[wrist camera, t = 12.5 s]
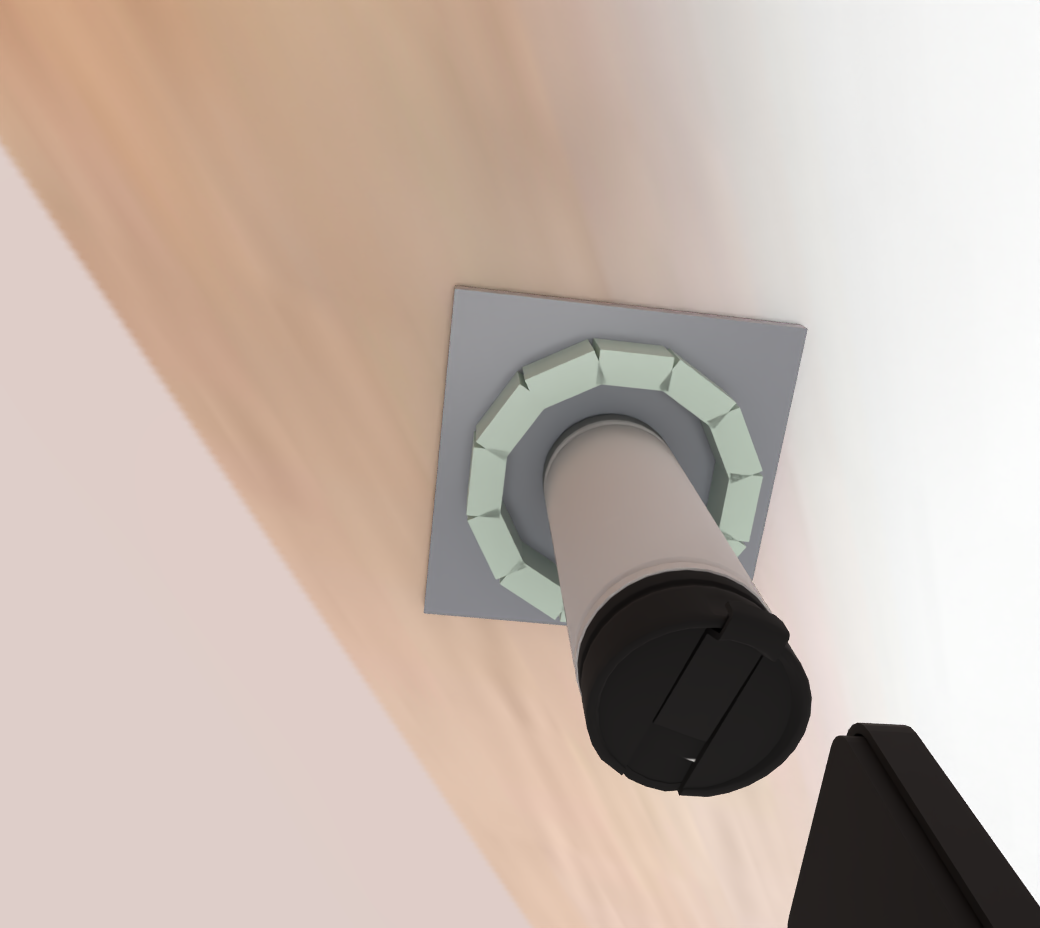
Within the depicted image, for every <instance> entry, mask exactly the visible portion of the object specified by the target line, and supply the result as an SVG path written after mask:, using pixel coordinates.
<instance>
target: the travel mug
mask: <svg viewBox="0 0 1040 928" xmlns="http://www.w3.org/2000/svg"><path fill="white" fill-rule="evenodd" d="M542 480H543V491H544V497H545V503H546V508H547V514H548V520H549V526H550V531H551V537H552V543H553V548H554V554H555V560H556V566H557V571H558V577H559V583H560V588H561V594H562V600H563V606H564V611H565V617H566V623H567V628H568V634H569V640H570V646H571V651H572V657H573V663H574V667H575V674H576V680H577V683H578V687H579V690H580V693H581V696H582V703H583V709H584V714H585V719H586V725H587V730H588V733H589V736H590V739H591V742H592V745H593V747H594V748H595V750H596V752H597V753H598V755H599V757H600V758H601V760H603V761H604V762H605V763H607V764H608V765H609V766H610V767H612V768H613V769H614V770H616V771H617V772H618V773H620V774H621V775H623V773H624V775H625V776H626V777H627V778H628V779H631V780H633V781H635V782H637V783H639V784H642V785H644V786H646V787H650V788H654V789H658V790H662V791H676V790H678V793H679V795H683V796H701V797H710V796H715V795H720V794H725V793H729V792H732V791H735V790H738V789H741V788H743V787H746V786H749V785H751V784H752V783H754V782H756V781H758V780H760V779H762V778H763V777H765V776H767V775H768V774H769V773H771V772H772V771H773V770H775V769H776V768H777V767H778V766H780V765H781V764H782V763H783V762H784V761H785V760H786V759H787V758H788V757H789V755H790V754H791V753H792V752H793V751H794V750H795V749H796V747H797V745H798V743H799V742H800V740H801V738H802V737H803V735H804V733H805V731H806V727H807V724H808V721H809V718H810V714H811V701H812V697H811V691H810V685H809V680H808V678H807V676H806V674H805V671H804V669H803V667H802V665H801V663H800V661H799V660H798V658H797V657H796V655H795V653H794V652H793V650H792V649H791V647H790V645H789V644H788V640H789V637H790V634H789V631H788V630H787V628H786V626H785V625H784V623H783V622H782V621H781V620H780V619H779V618H778V617H777V616H775V615H774V614H772V613H771V611H770V609H769V607H768V606H767V604H766V603H765V602H764V600H763V598H762V596H761V595H760V593H759V591H758V590H757V588H756V587H755V585H754V583H753V582H752V580H751V579H750V577H749V575H748V574H747V572H746V571H745V569H744V567H743V566H742V564H741V563H740V561H739V559H738V558H737V556H736V554H735V553H734V551H733V550H732V548H731V546H730V545H729V543H728V542H727V540H726V538H725V537H724V535H723V534H722V532H721V530H720V529H719V527H718V526H717V524H716V522H715V521H714V519H713V518H712V516H711V514H710V513H709V511H708V510H707V508H706V506H705V505H704V503H703V501H702V500H701V498H700V497H699V495H698V493H697V492H696V490H695V489H694V487H693V485H692V484H691V482H690V481H689V479H688V477H687V476H686V474H685V473H684V471H683V469H682V468H681V466H680V465H679V463H678V461H677V460H676V458H675V456H674V455H673V454H672V452H671V450H670V448H669V447H668V445H667V444H666V442H665V441H664V440H663V438H662V437H661V436H660V435H659V433H658V432H656V431H655V430H654V429H653V428H652V427H650V426H649V425H648V424H646V423H644V422H642V421H640V420H638V419H635V418H632V417H629V416H626V415H617V414H606V415H598V416H594V417H591V418H587V419H585V420H583V421H581V422H578V423H576V424H574V425H573V426H572V427H570V428H569V429H568V430H566V431H565V432H564V433H563V434H562V435H561V436H560V437H559V438H558V439H557V440H556V442H555V443H554V445H553V446H552V448H551V450H550V451H549V453H548V455H547V458H546V461H545V464H544V469H543V477H542Z"/></svg>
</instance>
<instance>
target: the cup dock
mask: <svg viewBox="0 0 1040 928" xmlns="http://www.w3.org/2000/svg"><path fill="white" fill-rule="evenodd" d="M806 334H807V328H805V327H804V326H802V325H798V324H790V323H781V322H772V321H763V320H755V319H746V318H737V317H728V316H719V315H711V314H702V313H693V312H684V311H675V310H667V309H658V308H649V307H640V306H632V305H623V304H614V303H605V302H596V301H588V300H579V299H570V298H561V297H552V296H544V295H535V294H526V293H517V292H509V291H500V290H491V289H482V288H473V287H465V286H456V285H455V292H454V303H453V313H452V324H451V334H450V345H449V355H448V366H447V376H446V387H445V397H444V407H443V418H442V428H441V439H440V449H439V460H438V470H437V481H436V491H435V502H434V512H433V523H432V533H431V543H430V554H429V564H428V575H427V585H426V596H425V606H424V613H427V614H439V615H451V616H462V617H474V618H485V619H497V620H509V621H520V622H532V623H543V624H555V625H567V623H566V617H565V611H564V606H563V600H562V594H561V588H560V583H559V577H558V571H557V566H556V560H555V554H554V548H553V543H552V537H551V531H550V526H549V520H548V514H547V508H546V503H545V497H544V491H543V480H542V477H543V469H544V464H545V461H546V458H547V455H548V453H549V451H550V450H551V448H552V446H553V445H554V443H555V442H556V440H557V439H558V438H559V437H560V436H561V435H562V434H563V433H564V432H565V431H566V430H568V429H569V428H570V427H572V426H573V425H574V424H576V423H578V422H581V421H583V420H585V419H587V418H591V417H594V416H598V415H606V414H617V415H626V416H629V417H632V418H635V419H638V420H640V421H642V422H644V423H646V424H648V425H649V426H650V427H652V428H653V429H654V430H655V431H656V432H658V433H659V435H660V436H661V437H662V438H663V440H664V441H665V442H666V444H667V445H668V447H669V448H670V450H671V452H672V454H673V455H674V456H675V458H676V460H677V461H678V463H679V465H680V466H681V468H682V469H683V471H684V473H685V474H686V476H687V477H688V479H689V481H690V482H691V484H692V485H693V487H694V489H695V490H696V492H697V493H698V495H699V497H700V498H701V500H702V501H703V503H704V505H705V506H706V508H707V510H708V511H709V513H710V514H711V516H712V518H713V519H714V521H715V522H716V524H717V526H718V527H719V529H720V530H721V532H722V534H723V535H724V537H725V538H726V540H727V542H728V543H729V545H730V546H731V548H732V550H733V551H734V553H735V554H736V556H737V558H738V559H739V561H740V563H741V564H742V566H743V567H744V569H745V571H746V572H747V574H748V575H749V577H750V579H751V580H753V576H754V571H755V567H756V562H757V557H758V553H759V548H760V544H761V539H762V535H763V530H764V525H765V521H766V516H767V512H768V507H769V503H770V498H771V494H772V489H773V484H774V480H775V475H776V471H777V466H778V462H779V457H780V452H781V448H782V443H783V439H784V434H785V430H786V425H787V420H788V416H789V411H790V407H791V402H792V398H793V393H794V388H795V384H796V379H797V375H798V370H799V366H800V361H801V357H802V352H803V347H804V343H805V338H806Z"/></svg>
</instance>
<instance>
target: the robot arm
mask: <svg viewBox="0 0 1040 928" xmlns="http://www.w3.org/2000/svg"><path fill="white" fill-rule="evenodd" d="M788 928H1040V906H1039V905H1038V903H1037V902H1036V901H1035V899H1034V898H1033V896H1032V895H1031V894H1030V892H1029V891H1028V889H1027V888H1026V887H1025V885H1024V884H1023V882H1022V881H1021V880H1020V878H1019V877H1018V875H1017V874H1016V873H1015V871H1014V870H1013V868H1012V867H1011V866H1010V864H1009V863H1008V861H1007V860H1006V859H1005V857H1004V856H1003V854H1002V853H1001V851H1000V850H999V849H998V847H997V846H996V844H995V843H994V842H993V840H992V839H991V837H990V836H989V835H988V833H987V832H986V830H985V829H984V828H983V826H982V825H981V823H980V822H979V821H978V819H977V818H976V816H975V815H974V814H973V812H972V811H971V809H970V808H969V807H968V805H967V804H966V802H965V801H964V800H963V798H962V797H961V795H960V794H959V792H958V791H957V790H956V788H955V787H954V785H953V784H952V783H951V781H950V780H949V778H948V777H947V776H946V774H945V773H944V771H943V770H942V769H941V767H940V766H939V764H938V763H937V762H936V760H935V759H934V757H933V756H932V755H931V753H930V752H929V750H928V749H927V748H926V746H925V745H924V743H923V742H922V740H921V739H920V738H919V736H918V735H917V733H916V732H915V731H914V730H913V729H912V728H911V727H909V726H906V725H894V724H873V723H856V724H853V725H852V726H851V728H850V729H849V730H848V733H847V736H841V735H840V736H837V737H836V738H835V739H834V740H833V743H832V745H831V749H830V753H829V757H828V761H827V765H826V769H825V773H824V777H823V781H822V785H821V789H820V793H819V797H818V801H817V805H816V809H815V813H814V817H813V822H812V826H811V830H810V834H809V838H808V842H807V846H806V850H805V854H804V858H803V862H802V866H801V870H800V874H799V878H798V882H797V886H796V890H795V894H794V898H793V902H792V906H791V911H790V915H789V919H788Z"/></svg>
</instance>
